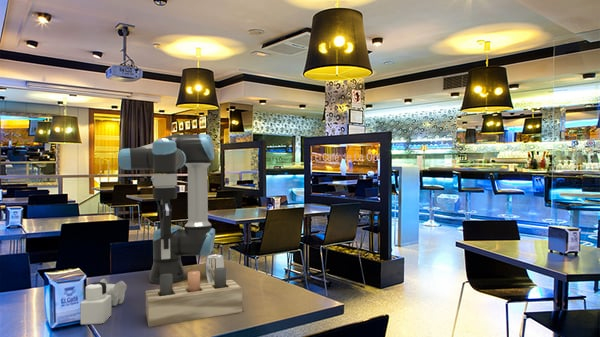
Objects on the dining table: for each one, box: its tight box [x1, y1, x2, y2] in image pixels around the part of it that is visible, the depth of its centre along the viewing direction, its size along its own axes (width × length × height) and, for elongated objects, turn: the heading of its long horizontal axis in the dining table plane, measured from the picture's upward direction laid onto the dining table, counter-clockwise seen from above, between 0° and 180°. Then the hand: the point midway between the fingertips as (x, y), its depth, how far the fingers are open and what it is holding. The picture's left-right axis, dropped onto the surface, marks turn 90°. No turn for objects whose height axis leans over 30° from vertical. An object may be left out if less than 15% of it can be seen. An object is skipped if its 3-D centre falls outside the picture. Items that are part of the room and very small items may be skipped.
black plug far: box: [214, 267, 227, 289], centre depth 142 cm, size 4×4×8 cm
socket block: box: [145, 279, 243, 328], centre depth 138 cm, size 12×30×8 cm, turn 115°
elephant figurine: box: [99, 278, 128, 307], centre depth 148 cm, size 10×12×9 cm
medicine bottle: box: [79, 281, 113, 325], centre depth 133 cm, size 7×7×12 cm
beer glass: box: [205, 254, 225, 283], centre depth 158 cm, size 7×7×15 cm
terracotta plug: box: [187, 269, 201, 293], centre depth 138 cm, size 4×4×8 cm
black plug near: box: [159, 274, 174, 296], centre depth 134 cm, size 4×4×8 cm
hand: (165, 258), depth 134 cm, fingers closed
